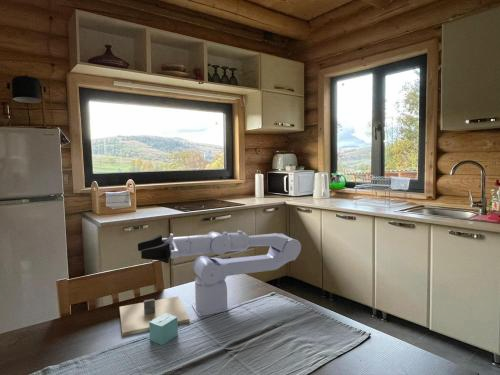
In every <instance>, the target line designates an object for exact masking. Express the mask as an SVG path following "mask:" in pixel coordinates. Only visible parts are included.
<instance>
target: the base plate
mask: <svg viewBox="0 0 500 375" xmlns="http://www.w3.org/2000/svg"><path fill="white" fill-rule="evenodd" d="M164 313H167V314H170V315H173V316H176V317H177V322H178V325H182V324H183V325H184V324H188V323H191V318H190V317H189V314H188V313H187V311H186V309H185V307H184V305H183V303H182V301H181V298H180V297H179V296H172V297H167V298H161V299H157V300H155V298H151V299H150V298H149V299H145V300H143V302H139V303H134V304H133V303H132V304H127V305H122V306H119V316H120V325H121V326H120V328H121V336H122V337H126V336H131V335H135V334H139V333H140V334H141V333H145V332H150V328H149V322H150V321H152V320H154V319H155V318H157V317H159V316H161V315H162V314H164Z"/></svg>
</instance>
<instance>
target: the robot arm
mask: <svg viewBox="0 0 500 375" xmlns="http://www.w3.org/2000/svg"><path fill="white" fill-rule="evenodd" d="M249 247H269V248H268V252H267V253H266V254H261V255H260V254H259V255H253V256H252V255H251V256H250V255H249V256H241V257H232V258H219V257H209V256H206V255H204V254H211V253H214V254H216V255H220V256H222V255H224V254H226V253H227V252H239V251H241V252H243V251H246V250H248V249H249ZM301 250H302V244H301V243H300V241H299V240H298V239H295V238H292V237H289V236H288V235H286V234H284V233H282V232H280V233H276V232H273V233H263V234H256V235H255V234H254V235H248V234H247V233H246V232H243V231H242V230H237V232H227V231H222V233H219V232H217V231H215V230H213V231H210V232H208V233H207V234H195V235H185V236H174V233H169V237H168V238H167V237H164V238H163V235H162V234H158V235H156V236H154V237H153V238H151V239H150V238H149V239H148V240H144V241H141V242H138V243H137V251H138V252H140V255H141V257H140V258H141V259H142V260H154V261H158V262H162V263H165V264H169V263H170V259H171V260H172V259H178V258H179V257H188V256H189V257H190V256H196V255H201V256H198V257H197V258H196V259H195V260H194V261H193V264H192V269H193V271H194V273H195V274H196V276H195V279H194V281H195V282H194V286H195V287H194V288H195V289H194V291H195V303H192V304H191V306H192V309H193V310H194V311H195V314H196V315H197V317H203V316H209V315H212V314H218V313H222V312H228V310H229V308H228V286H227V282H226V278H227V277H230V276H238V275H239V276H240V275H245V274H253V273H259V272H261V273H262V272H268V271H275V270H276V271H277V270H279V269H280V268H281V267H283V266H284V265H286V264H287V263H289V262H292V261H296V260H297V257H299V255H300V253H301Z"/></svg>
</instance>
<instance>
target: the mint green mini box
mask: <svg viewBox="0 0 500 375" xmlns="http://www.w3.org/2000/svg"><path fill="white" fill-rule="evenodd" d="M149 328H150V331H149V341H151V342H152V343H153V342H154V343H156V344H158V345H160V346H164V345H165V344H166V343H169V341H171V340H173V339H174V338H175V337H177V336H178V335H179V331H178V329H179V328H178V322H177V317H176V316H173V315H170V314H167V313H164V314H162V315H161V316H159V317H157V318H155V319H154V320H152V321H150V322H149Z"/></svg>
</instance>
